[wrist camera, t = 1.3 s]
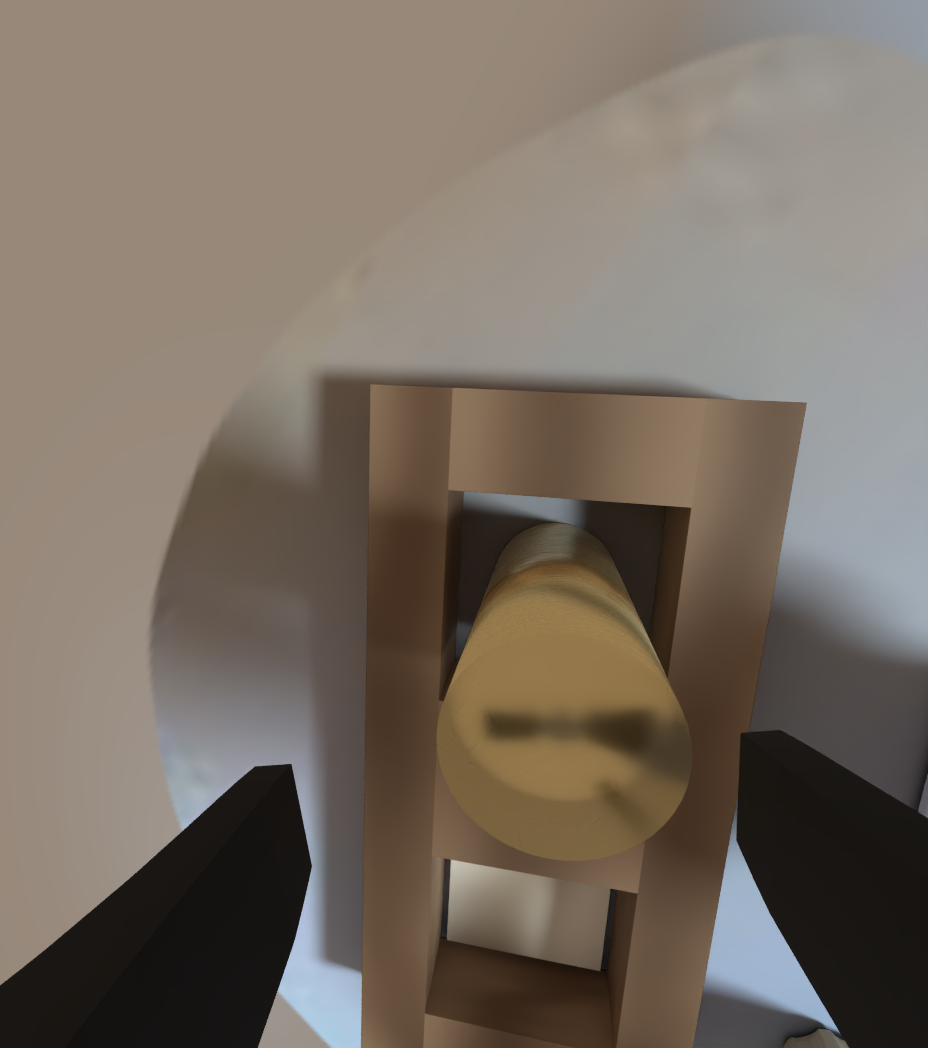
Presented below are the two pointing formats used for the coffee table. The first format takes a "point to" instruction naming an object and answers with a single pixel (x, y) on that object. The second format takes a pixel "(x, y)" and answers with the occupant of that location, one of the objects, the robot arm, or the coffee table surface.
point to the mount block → (428, 668)
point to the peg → (562, 707)
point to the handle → (816, 1041)
